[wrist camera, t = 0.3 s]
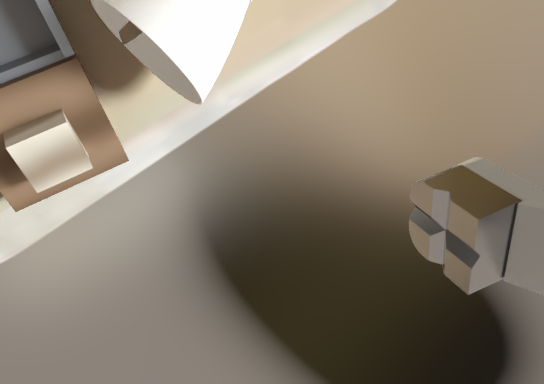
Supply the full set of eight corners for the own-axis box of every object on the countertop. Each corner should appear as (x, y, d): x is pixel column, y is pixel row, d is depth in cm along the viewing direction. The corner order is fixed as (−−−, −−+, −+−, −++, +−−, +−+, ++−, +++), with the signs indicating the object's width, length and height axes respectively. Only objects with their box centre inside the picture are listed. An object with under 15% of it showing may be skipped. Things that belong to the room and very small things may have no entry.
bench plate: (-61, 96, 41) (-61, 113, 39) (70, 45, 43) (76, 57, 41) (12, 193, 48) (15, 211, 46) (121, 145, 51) (128, 160, 49)
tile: (2, 133, 42) (5, 147, 40) (61, 108, 43) (66, 122, 41) (34, 177, 45) (37, 193, 44) (87, 153, 46) (93, 168, 45)
